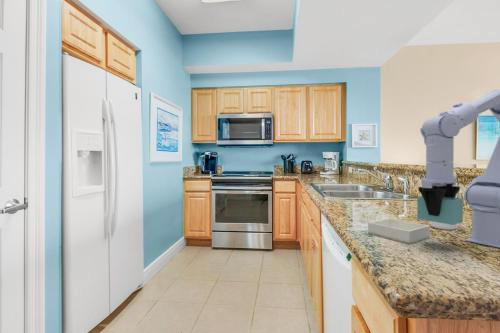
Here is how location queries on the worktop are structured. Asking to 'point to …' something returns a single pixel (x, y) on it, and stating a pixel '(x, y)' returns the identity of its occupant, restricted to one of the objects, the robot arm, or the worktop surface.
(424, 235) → the white crate
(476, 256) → the worktop surface
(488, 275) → the worktop surface
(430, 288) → the worktop surface
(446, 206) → the teal crate
